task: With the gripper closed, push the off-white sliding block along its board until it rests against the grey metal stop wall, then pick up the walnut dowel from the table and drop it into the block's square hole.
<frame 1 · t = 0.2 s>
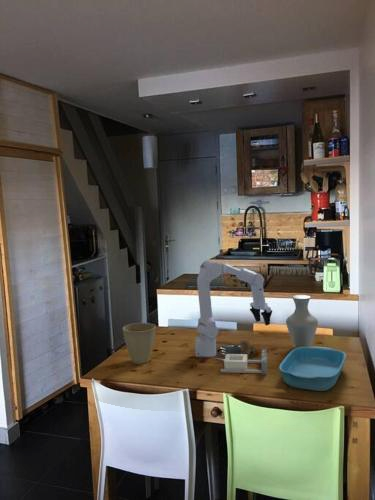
hand: (262, 323, 214), 11 cm above the table, tool pointing down, fingers open, 7 cm apart
sliding block: (236, 362, 184), point 3 cm above the table, slide at 0.0 cm
plant pot: (141, 361, 199), on the table
slide board: (243, 369, 184), on the table
stop wall: (264, 361, 182), point 4 cm above the table
vase: (302, 348, 206), on the table
dowel: (245, 357, 198), on the table
casserole dish: (313, 377, 174), on the table
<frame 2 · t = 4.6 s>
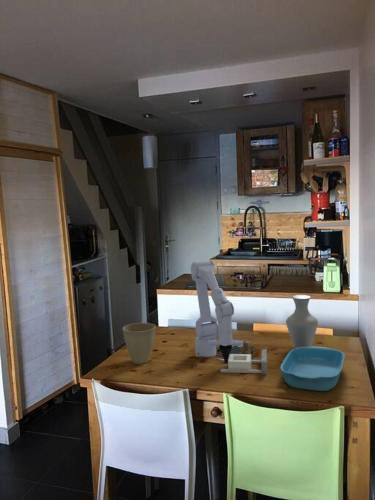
hand: (226, 362, 185), 3 cm above the table, tool pointing down, fingers closed
sliding block: (239, 362, 184), point 3 cm above the table, slide at 1.6 cm, touching gripper
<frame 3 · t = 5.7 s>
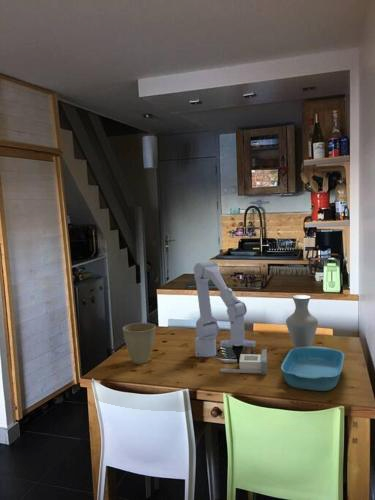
hand: (238, 362, 184), 3 cm above the table, tool pointing down, fingers closed
sliding block: (251, 362, 183), point 3 cm above the table, slide at 6.2 cm, touching gripper, stop wall
everything else where it was.
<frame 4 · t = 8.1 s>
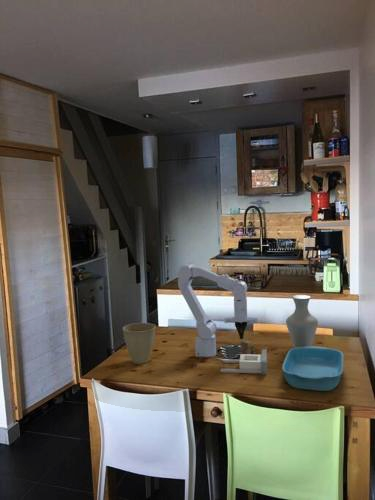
hand: (241, 338, 195), 9 cm above the table, tool pointing down, fingers closed
sliding block: (251, 362, 183), point 3 cm above the table, slide at 6.2 cm, touching stop wall
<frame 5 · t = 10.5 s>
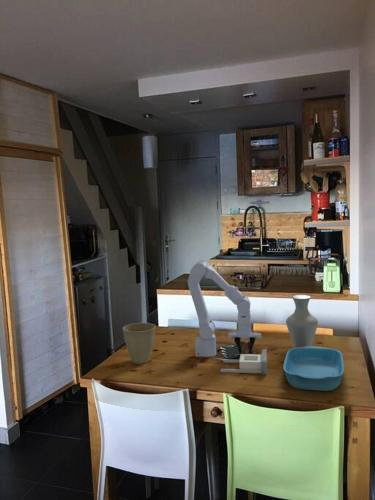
hand: (245, 353, 198), 2 cm above the table, tool pointing down, fingers closed on dowel, 4 cm apart
dowel: (245, 357, 198), on the table, touching gripper
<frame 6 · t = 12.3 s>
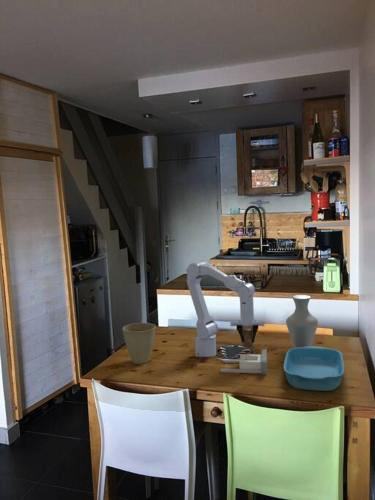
hand: (248, 342, 189), 9 cm above the table, tool pointing down, fingers closed on dowel, 4 cm apart
dowel: (248, 345, 190), point 8 cm above the table, touching gripper
everything else where it was.
when the fingers open (5 cm above the table, at t = 14.1 s): dowel drops 3 cm, resting on slide board.
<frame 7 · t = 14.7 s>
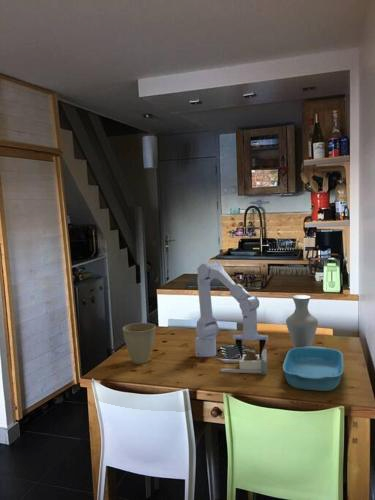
hand: (251, 357, 182), 5 cm above the table, tool pointing down, fingers open, 7 cm apart
dowel: (251, 367, 183), point 1 cm above the table, touching slide board
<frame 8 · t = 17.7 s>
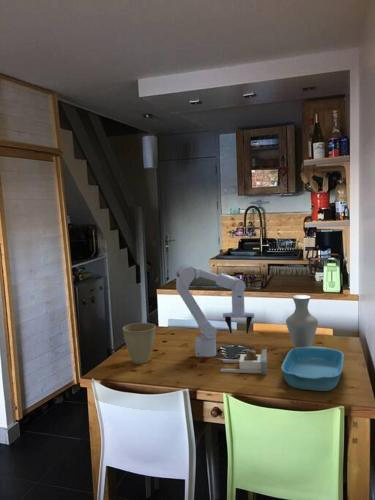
hand: (239, 332, 204), 9 cm above the table, tool pointing down, fingers open, 7 cm apart
nothing on the table moved.
at the end: sliding block slide at 6.2 cm; dowel 0.1 cm off-centre on the sliding block, point 0.0 cm above the sliding block's base; dowel tilted 1° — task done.
